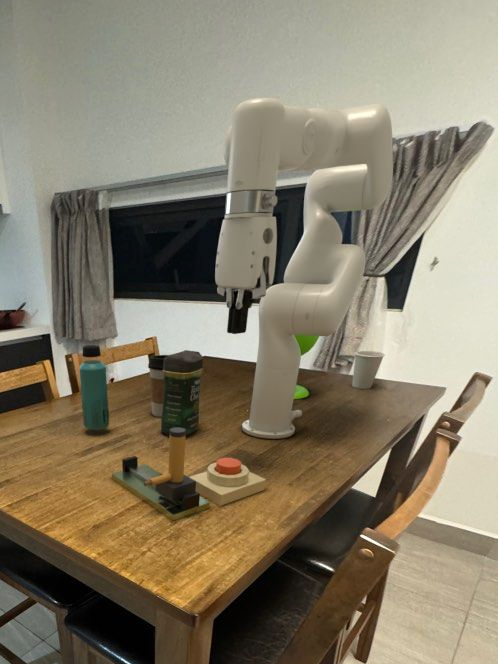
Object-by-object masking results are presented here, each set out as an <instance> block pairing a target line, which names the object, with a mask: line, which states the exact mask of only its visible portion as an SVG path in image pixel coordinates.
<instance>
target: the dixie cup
mask: <svg viewBox="0 0 498 664" xmlns="http://www.w3.org/2000/svg"><path fill="white" fill-rule="evenodd" d="M384 357H385V353H383V352H381V351H375V350H359V351H356V352H355V353H354V366H353V374H352V383H351V387H352V388H356V389H362V390H363V389H367V390H368V389H371V388H372V386H373V383H374V382H375V379H376V376H377V373H378V371H379V368H380V366H381V365H382V361H383V358H384Z"/></svg>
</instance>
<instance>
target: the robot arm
mask: <svg viewBox="0 0 498 664" xmlns="http://www.w3.org/2000/svg"><path fill="white" fill-rule="evenodd" d="M393 151H394V150H393V126H392V118H391V115H390V112H389V110H388V108H387V106H385V105H384V104H382V103H371V104H366V105H360V106H353V107H349V108H341V109H340V108H339V109H331V108H330V109H329V108H321V107H311V108H305V107H304V106H300V105H284V104H283V102H282V101H281V100H279V99H277V98H273V97H256V98H251V99H247V100H244V101H243V102H240V103H239V104H238V105H237V106H236V107H235V109H234V111H233V114H232V120H231V124H230V125H229V128H228V129H227V131H226V134H225V138H224V142H223V158H224V162H225V165H226V168H227V183H226V194H225V195H226V196H225V207H224V219H222V222H221V228H220V232H219V237H218V244H217V250H216V257H215V269H214V270H215V272H214V278H215V279H214V280H215V284H216V285H217V290H216V293H217V294H218V295H219V296H222V297H224V300H225V301H226V308H227V309H228V316H227V328H226V332H227V334H231V335H232V334H233V335H237V334H245V333H246V332H247V325H248V317H249V309H251V308H252V307H253V303H254V302H255V301H256V300H257V299H259V304H258V347H257V355H256V363H255V364H256V366H255V371H254V372H255V373H254V379H253V388H252V395H251V403H250V410H249V418H248V419H247V420H245V421H243V422H242V424H241V430H242V432H244V433H245V434H247V435H249V436H252V437H255V438H261V439H268V440H269V439H270V440H275V439H277V440H278V439H286V438H289V437H291V436H292V435H294V434H295V430H296V426H295V425H294V424H293V423H292V421H294V420H295V419H299V418H301V417H302V416H303V411H302V410H301V409H295V410H293V405H294V400H295V399H294V394H295V388H296V385H297V382H298V378H299V377H298V376H299V371H300V365H301V360H302V356H301V352H300V348H299V345H298V343H297V341H296V339H295V336H294V335H310V336H319V337H328V336H331V335H333V334H334V333H335V332H337V331H338V329H339V328H340V327H341V324H342V323H343V321H344V319H345V316H346V315H347V313H348V311H349V308H350V306H351V304H352V302H353V300H354V298H355V296H356V294H357V292H358V290H359V288H360V285H361V283H362V280H363V277H364V273H365V269H366V253H365V251H364V249H363V248H362V247H361V246H360V245H357V244H351V243H346V244H345V243H344V244H343V243H342V242H343V232H342V229H341V227H340V224H339V223H338V221H337V220H336V218H335V216H333V215H332V214H331V213H337V212H338V213H339V212H357V211H371V210H374V209H377V208H379V207H380V206H382V204H384V202H385V201H386V199H387V198H388V196H389V194H390V192H391V188H392V184H393V177H394V156H393V155H394V153H393ZM309 171H314V172H313V173H312V174H311V175H310V177H309V179H308V180H307V183H306V185H305V191H304V200H303V234H302V236H301V239H300V240H299V242H298V244H297V246H296V248H295V250H294V252H293V253H292V255H291V257H290V259H289V262H288V264H287V266H286V268H285V271H284V275H283V282H282V283H277V284H274V285H273V283H274V279H275V269H276V260H277V259H276V258H277V241H278V233H277V232H278V228H277V227H278V226H277V217H276V216H273V213H274V207H276V206H277V204H278V196H277V195H276V188H277V180H278V173H285V174H286V173H291V174H292V173H300V172H301V173H302V172H309Z"/></svg>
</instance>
